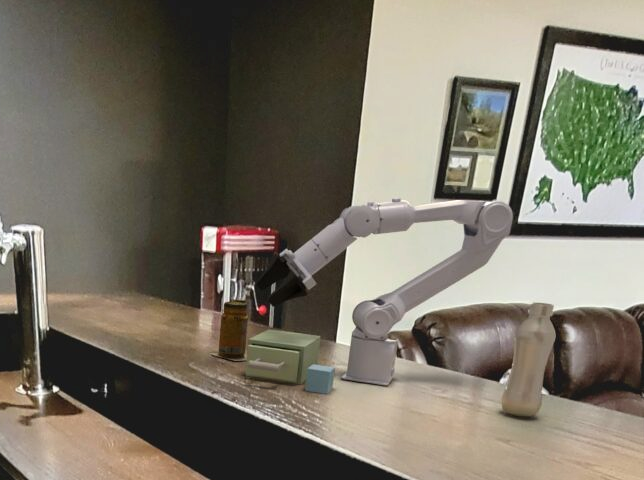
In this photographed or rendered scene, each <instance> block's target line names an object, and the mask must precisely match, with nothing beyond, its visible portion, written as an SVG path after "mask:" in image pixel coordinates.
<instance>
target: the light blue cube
mask: <svg viewBox="0 0 644 480" xmlns="http://www.w3.org/2000/svg"><path fill="white" fill-rule="evenodd" d="M335 371H336V367H335V366H329V365H328V366H327V365H322V364H317V365H315V364H313V365H311V366H310V367H309V368H308V369H307V377H306V380H305V386H304V387H305V388H304V391H305V392H311V393H318V394H324V395H328V394H329V393H330V392H332V390H333V386H334V378H335Z"/></svg>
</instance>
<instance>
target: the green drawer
mask: <svg viewBox="0 0 644 480" xmlns="http://www.w3.org/2000/svg"><path fill="white" fill-rule="evenodd" d="M246 347H247V348H246V355H247V358H246V360H245V370H244V371H245V372H244V374H245V375H246V374H247V375H254V376H261V377H267V378H274V379H280V380H287V381H294V382H295V381H297V375H298V368H299V359H300V350H297V349H289V348H282V347H275V346H267V345H260V344H256V345H248V344H247V345H246Z"/></svg>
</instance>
